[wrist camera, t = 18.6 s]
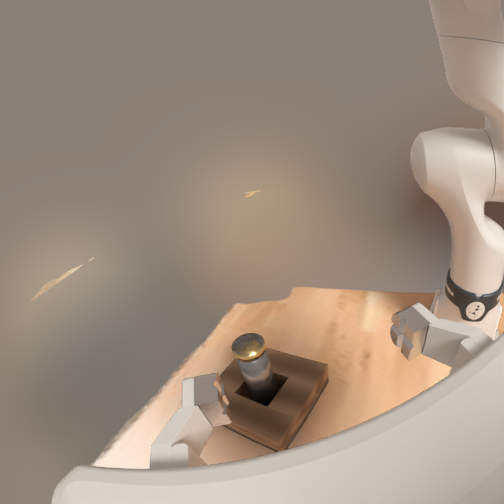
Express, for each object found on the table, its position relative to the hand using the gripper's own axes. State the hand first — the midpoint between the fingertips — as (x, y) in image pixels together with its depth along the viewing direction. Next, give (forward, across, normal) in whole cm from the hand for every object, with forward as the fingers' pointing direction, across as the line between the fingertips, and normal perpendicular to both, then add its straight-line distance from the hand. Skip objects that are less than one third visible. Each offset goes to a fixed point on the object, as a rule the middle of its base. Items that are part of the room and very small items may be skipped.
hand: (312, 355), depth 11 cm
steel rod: (+21, +4, +31) cm, 38 cm away
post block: (+21, +4, +32) cm, 38 cm away
